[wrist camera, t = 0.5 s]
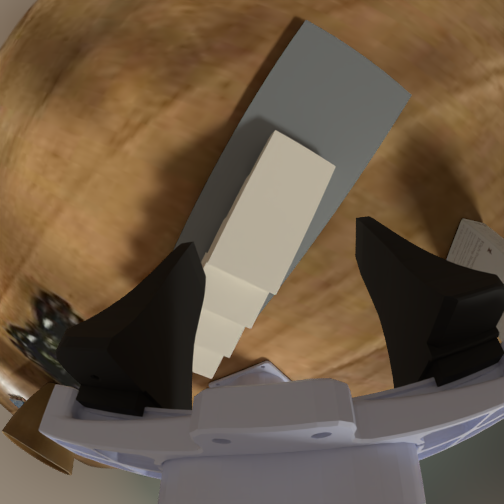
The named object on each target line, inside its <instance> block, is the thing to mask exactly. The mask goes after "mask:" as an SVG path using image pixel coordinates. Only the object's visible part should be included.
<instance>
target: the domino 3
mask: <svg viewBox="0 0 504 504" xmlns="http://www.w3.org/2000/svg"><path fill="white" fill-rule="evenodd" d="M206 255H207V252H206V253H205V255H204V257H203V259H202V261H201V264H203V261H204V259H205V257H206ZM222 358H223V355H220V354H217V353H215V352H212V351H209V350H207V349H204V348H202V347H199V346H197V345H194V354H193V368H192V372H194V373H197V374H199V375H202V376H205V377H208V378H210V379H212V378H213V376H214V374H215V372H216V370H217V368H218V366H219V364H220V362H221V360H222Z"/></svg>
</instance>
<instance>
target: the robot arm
mask: <svg viewBox="0 0 504 504" xmlns="http://www.w3.org/2000/svg"><path fill="white" fill-rule="evenodd" d="M355 256H356V260H357V263H358V267H359V270H360V273H361V276H362V278H363V280H364V283H365V285H366V287H367V289H368V292H369V294H370V296H371V299H372V301H373V303H374V306H375V308H376V310H377V313H378V315H379V318H380V321H381V325H382V329H383V332H384V336H385V340H386V345H387V349H388V353H389V358H390V364H391V369H392V375H393V382H394V389H390V390H386V391H382V392H378V393H373V394H369V395H364V396H359V397H354V398H352V397H351V392H350V389H349V387H348V385H347V384H346V383H344V382H341V381H338V380H335V379H331V378H320V379H305V380H297V381H291V380H290V379H288V378H287V377H286V376H285V375H284V374H283V373H282V372H281V371H280V370H278V369H277V368H276V367H275V366H274V365H273V364H272V363H271V362H269V361H264V362H262V363H259V364H257V365H254V366H252V367H250V368H247V369H245V370H242V371H240V372H237V373H234V374H232V375H229V376H227V377H224V378H221V379H219V380H216V381H213V382H211V383H209V387H210V388H207V389H205V390H203V391H201V392H200V393H199V394H197V395H196V396H194V402H193V409H192V368H193V354H194V343H195V337H196V332H197V328H198V323H199V319H200V314H201V310H202V305H203V301H204V296H205V286H206V275H205V272H204V269H203V267H202V264H201V261H200V258H199V255H198V253H197V250H196V247H195V244H194V241H193V242H187V243H181V244H180V245H179V246H178V247H176V248H175V249H174V250H173V251H172V252H171V253H170V254H169V255H168V256H167V257H166V258H165V259H164V260H163V261H162V262H161V263H160V264H159V266H158V267H157V268H156V269H155V270H154V271H152V272H151V273H150V274H149V275H148V276H147V277H146V278H145V279H144V280H143V281H142V282H141V283H140V284H139V285H137V286H136V287H135V288H134V289H133V290H132V291H130V292H129V293H128V294H127V295H125V296H124V297H123V298H121V299H120V300H118V301H117V302H115V303H114V304H113V305H111V306H110V307H108V308H107V309H105V310H103V311H102V312H100V313H99V314H97V315H95V316H93V317H91V318H90V319H88V320H86V321H84V322H82V323H79V324H77V325H75V326H73V327H71V328H69V329H67V330H66V331H65V333H64V335H63V337H62V339H61V341H60V343H59V345H58V347H57V349H56V357H57V359H58V361H59V363H60V364H61V365H62V366H63V368H64V369H65V370H66V371H67V372H68V373H69V374H70V375H71V376H72V377H73V378H74V379H76V380H77V381H78V382H79V383H80V384H81V386H80V389H79V391H78V390H77V389H75V388H72V387H68V386H63V385H59V384H56V385H55V387H54V389H53V392H52V394H51V397H50V399H49V402H48V404H47V407H46V410H45V412H44V415H43V418H42V421H41V424H40V427H39V432H40V433H42V434H43V435H45V436H46V437H48V438H50V439H51V440H53V441H54V442H56V443H58V444H59V445H61V446H63V447H64V448H66V449H68V450H70V451H71V452H73V453H75V454H77V455H80V456H83V457H86V458H89V459H91V460H94V461H97V462H100V463H103V464H107V465H110V466H113V467H116V468H119V469H123V470H126V471H130V472H133V473H137V474H141V475H145V476H149V477H153V478H158V479H161V484H160V491H159V499H158V504H426V502H425V494H424V487H423V481H422V476H421V470H420V464H419V460H421V459H424V458H426V457H429V456H431V455H433V454H436V453H438V452H441V451H443V450H445V449H447V448H449V447H452V446H454V445H456V444H458V443H460V442H462V441H464V440H466V439H468V438H470V437H472V436H474V435H476V434H477V433H479V432H481V431H483V430H485V429H486V428H488V427H490V426H492V425H493V424H495V423H497V422H498V421H500V420H502V419H504V341H503V342H502V343H501V344H500V343H499V341H498V339H497V337H498V336H499V331H498V329H497V327H496V326H497V324H498V322H499V320H500V318H501V317H502V315H503V313H504V284H503V282H502V281H501V280H500V278H499V277H498V276H497V275H496V274H491V273H487V272H482V271H478V270H474V269H471V268H467V267H464V266H461V265H458V264H455V263H452V262H450V261H447V260H445V259H442V258H440V257H438V256H435V255H433V254H431V253H429V252H427V251H425V250H423V249H421V248H419V247H418V246H416V245H414V244H412V243H411V242H409V241H407V240H406V239H404V238H402V237H401V236H399V235H398V234H396V233H395V232H393V231H392V230H390V229H388V228H387V227H385V226H384V225H382V224H381V223H379V222H378V221H376V220H375V219H373V218H371V217H369V216H368V217H360V218H356V254H355Z"/></svg>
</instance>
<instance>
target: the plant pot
mask: <svg viewBox="0 0 504 504" xmlns="http://www.w3.org/2000/svg"><path fill="white" fill-rule="evenodd" d="M55 385H56V384H54V383H47V384H46V385H45V386H43V387H42V388H41V389H39V390H38V391H37V392H36V393H34V394H33V395H32V396H31V397H30V398H29V399H28V400H27V401H26V402H25V403H24V404H23V405H22V406H21V407H20V408H19V409H18V410H17V412H16V413H15V414H14V415H13V416H12V418H11V419H10V420H9V422H8V423H7V424H6V426H5V427H4V429H3V430H2V432H3V434H4V435H5V436H6V437H7V438H8V439H10V440H11V441H12V442H13V443H14V444H16V445H17V446H19V447H20V448H21V449H23V450H24V451H25V452H27V453H28V454H30V455H31V456H33V457H34V458H36V459H38V460H40V461H41V462H43V463H44V464H46V465H48V466H50V467H52V468H54V469H56V470H58V471H60V472H62V473H64V474H67V475H72V468H73V461H74V455H75V453H73V452H71V451H70V450H68V449H66V448H64V447H63V446H61V445H59V444H58V443H56V442H54V441H53V440H51V439H50V438H48V437H46V436H45V435H43V434H42V433H40V432H39V427H40V424H41V421H42V418H43V415H44V412H45V410H46V407H47V404H48V402H49V399H50V397H51V394H52V392H53V389H54V387H55Z"/></svg>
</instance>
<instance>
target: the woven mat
mask: <svg viewBox="0 0 504 504" xmlns="http://www.w3.org/2000/svg"><path fill="white" fill-rule="evenodd" d="M10 400H11V401H12V403H14V404H16V406H17V407H18V408H20V407H21V406H22V405H23V404H24V403H25V402H26V400H25V399H24V398H20V397H17V396H16V397H13V396H11V397H10Z"/></svg>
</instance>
